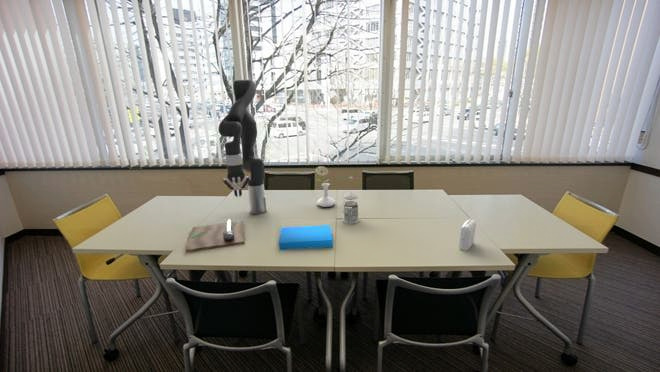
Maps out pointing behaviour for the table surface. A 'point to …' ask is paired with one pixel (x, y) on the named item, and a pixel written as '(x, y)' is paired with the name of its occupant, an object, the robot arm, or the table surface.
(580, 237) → the table surface
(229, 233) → the tuning lever
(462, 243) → the photo printer
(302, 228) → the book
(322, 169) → the flower in vase
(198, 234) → the dial plate
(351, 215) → the french press
